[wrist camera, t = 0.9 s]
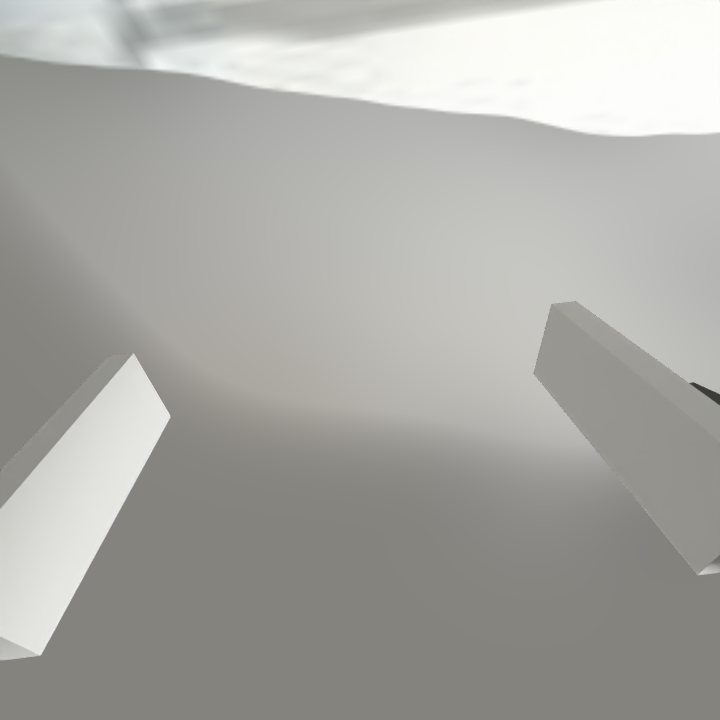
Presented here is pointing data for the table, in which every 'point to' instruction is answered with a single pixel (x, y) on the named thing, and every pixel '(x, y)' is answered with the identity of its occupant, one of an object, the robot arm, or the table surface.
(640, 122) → the table surface
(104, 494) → the robot arm
